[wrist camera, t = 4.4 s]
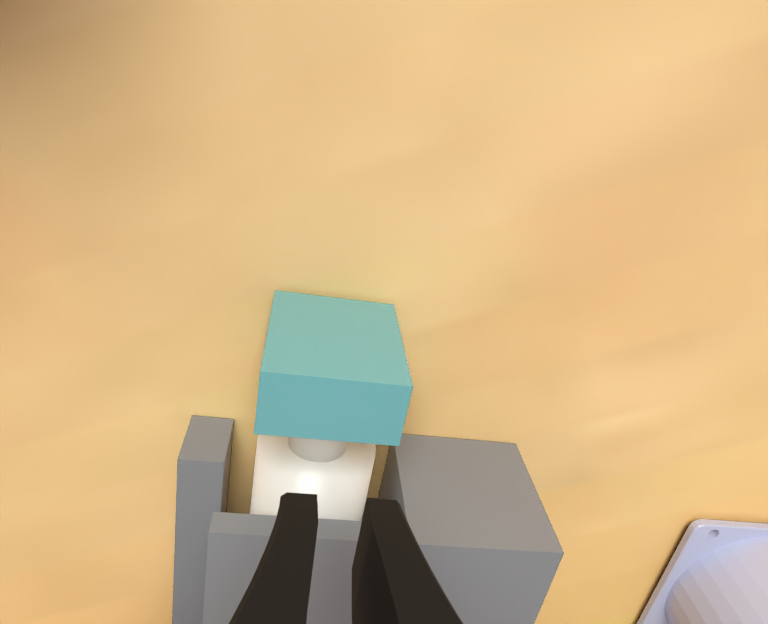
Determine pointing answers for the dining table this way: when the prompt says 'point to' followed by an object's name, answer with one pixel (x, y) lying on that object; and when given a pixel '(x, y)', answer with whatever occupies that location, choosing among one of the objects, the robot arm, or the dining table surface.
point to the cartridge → (327, 401)
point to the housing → (339, 537)
